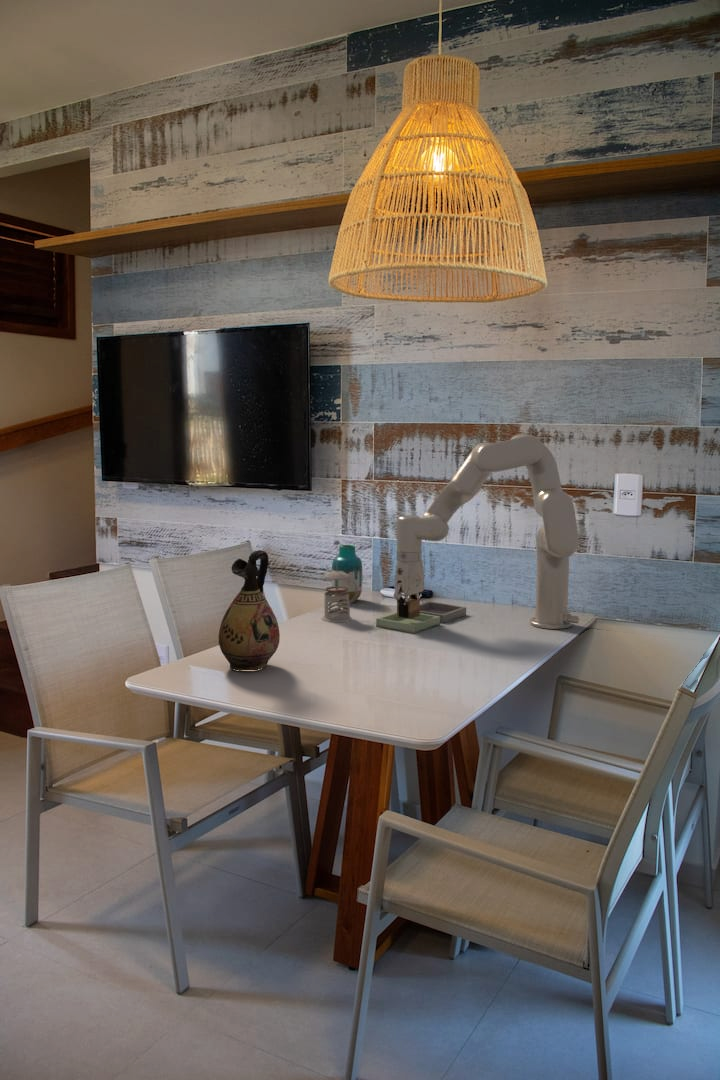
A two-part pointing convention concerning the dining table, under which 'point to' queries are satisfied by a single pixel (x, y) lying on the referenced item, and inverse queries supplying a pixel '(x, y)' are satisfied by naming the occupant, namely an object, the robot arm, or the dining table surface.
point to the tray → (408, 622)
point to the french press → (337, 598)
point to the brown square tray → (442, 611)
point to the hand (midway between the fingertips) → (408, 614)
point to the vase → (348, 570)
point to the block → (411, 608)
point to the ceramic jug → (249, 619)
